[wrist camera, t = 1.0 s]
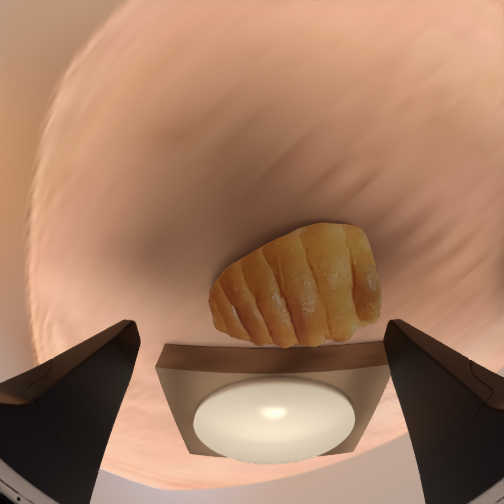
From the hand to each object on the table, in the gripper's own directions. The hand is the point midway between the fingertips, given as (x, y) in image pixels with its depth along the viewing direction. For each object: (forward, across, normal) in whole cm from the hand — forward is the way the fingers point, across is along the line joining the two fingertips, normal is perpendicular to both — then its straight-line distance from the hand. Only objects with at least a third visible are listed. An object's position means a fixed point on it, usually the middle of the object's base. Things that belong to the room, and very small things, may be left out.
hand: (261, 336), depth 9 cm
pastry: (+8, 0, 0) cm, 8 cm away
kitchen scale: (+7, -1, +14) cm, 15 cm away
